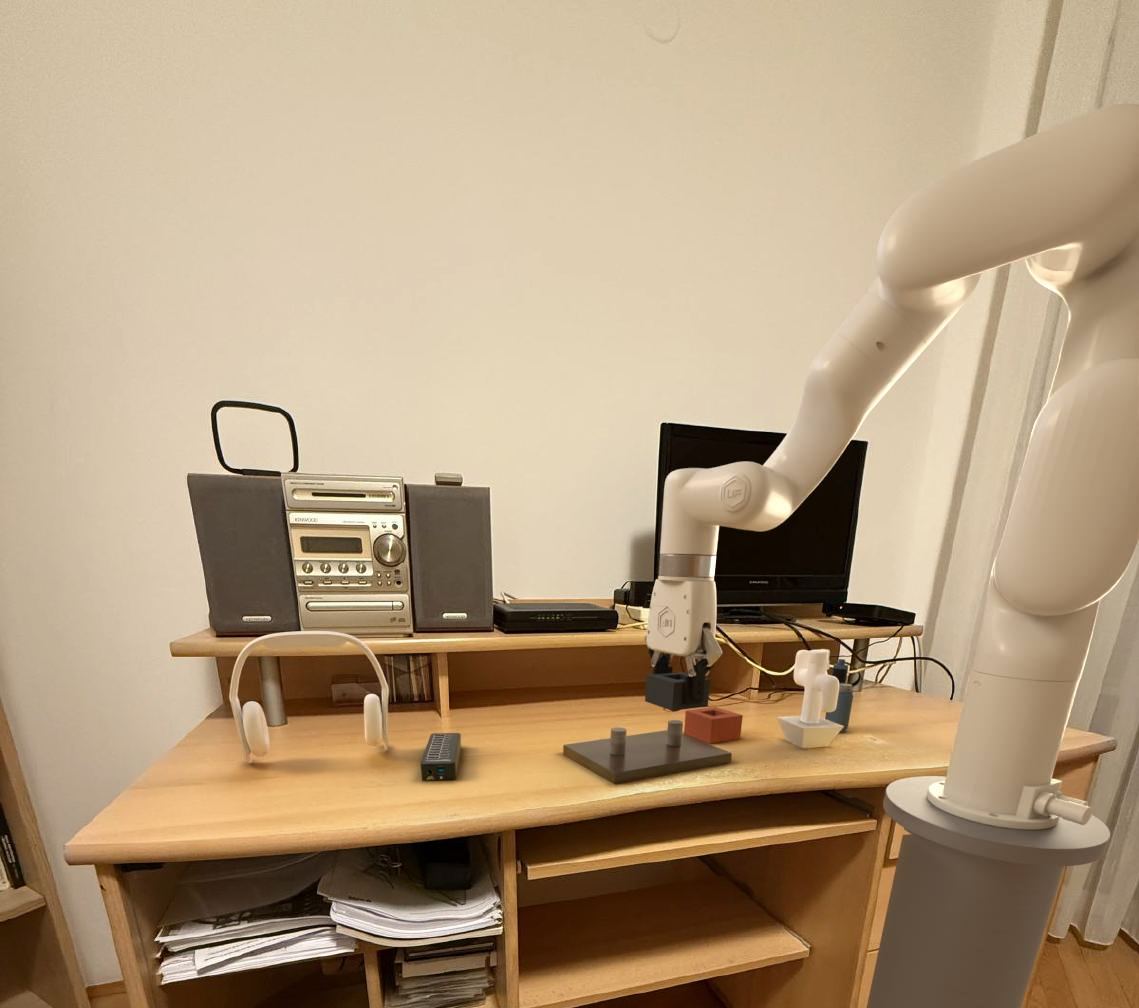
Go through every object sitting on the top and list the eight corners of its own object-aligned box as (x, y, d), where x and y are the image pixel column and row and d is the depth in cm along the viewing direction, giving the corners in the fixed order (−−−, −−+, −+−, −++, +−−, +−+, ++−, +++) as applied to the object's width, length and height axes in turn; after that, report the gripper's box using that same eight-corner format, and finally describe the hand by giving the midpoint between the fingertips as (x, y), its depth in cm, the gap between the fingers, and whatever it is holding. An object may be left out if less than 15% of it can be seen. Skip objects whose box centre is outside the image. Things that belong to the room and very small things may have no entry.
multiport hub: (461, 747, 91) (460, 732, 91) (456, 779, 78) (455, 763, 77) (431, 747, 91) (430, 733, 90) (421, 780, 77) (420, 763, 76)
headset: (237, 774, 78) (214, 636, 73) (244, 758, 84) (223, 629, 79) (395, 760, 85) (385, 632, 79) (391, 746, 91) (381, 626, 86)
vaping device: (834, 725, 108) (845, 658, 104) (849, 733, 103) (861, 663, 99) (821, 725, 108) (831, 658, 104) (835, 733, 103) (846, 663, 99)
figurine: (804, 753, 91) (819, 654, 87) (769, 736, 100) (781, 645, 95) (845, 750, 93) (861, 653, 88) (807, 734, 102) (820, 645, 97)
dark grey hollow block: (708, 706, 86) (710, 679, 85) (672, 710, 83) (674, 682, 82) (679, 697, 92) (681, 671, 91) (644, 701, 89) (646, 674, 88)
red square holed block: (740, 738, 98) (742, 715, 97) (709, 743, 95) (712, 719, 94) (713, 729, 104) (715, 706, 103) (683, 733, 101) (685, 710, 100)
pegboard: (731, 762, 86) (734, 729, 85) (614, 784, 77) (616, 747, 76) (670, 738, 98) (672, 708, 96) (563, 754, 89) (563, 721, 87)
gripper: (628, 567, 87) (621, 689, 93) (708, 570, 73) (695, 714, 78) (669, 568, 91) (660, 685, 96) (753, 571, 76) (738, 708, 82)
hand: (676, 697), depth 87 cm, fingers closed on dark grey hollow block, 6 cm apart
